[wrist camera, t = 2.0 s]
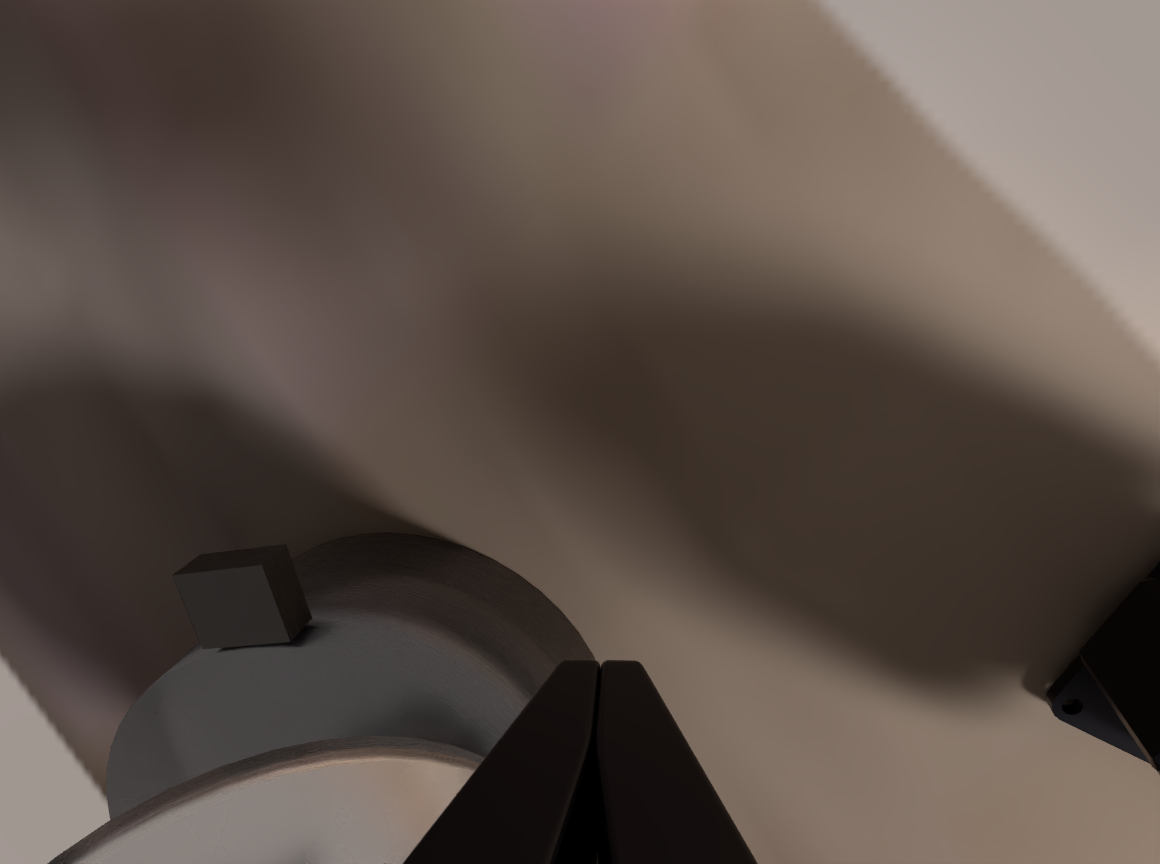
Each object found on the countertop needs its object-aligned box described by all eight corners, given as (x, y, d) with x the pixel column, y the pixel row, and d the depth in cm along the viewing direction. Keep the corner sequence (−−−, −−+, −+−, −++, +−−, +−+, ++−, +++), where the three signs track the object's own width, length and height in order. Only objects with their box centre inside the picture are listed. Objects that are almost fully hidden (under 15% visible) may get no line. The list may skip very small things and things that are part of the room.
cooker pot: (583, 436, 21) (528, 534, 16) (690, 910, 26) (676, 1113, 21) (162, 497, 25) (-6, 595, 19) (326, 906, 30) (231, 1078, 24)
